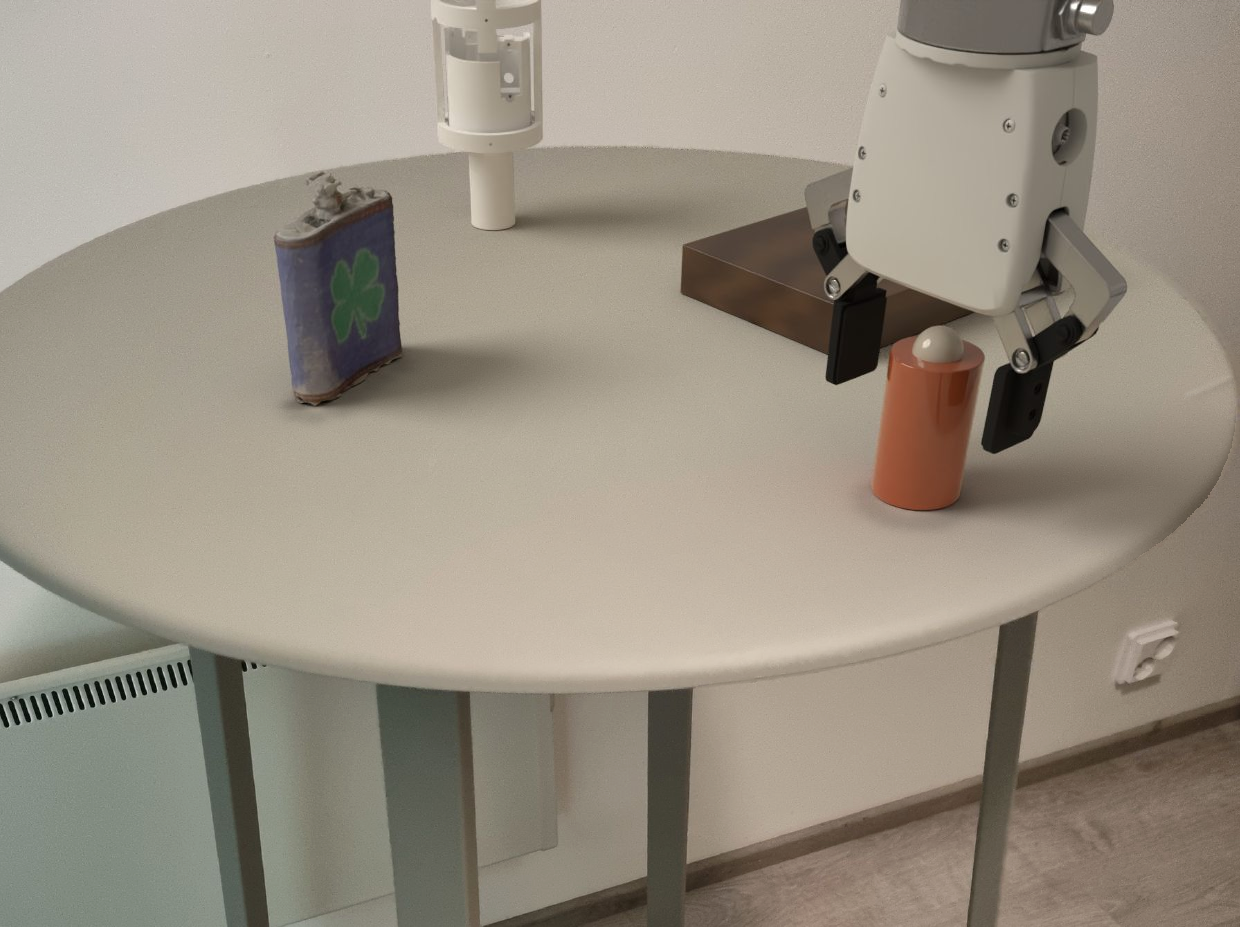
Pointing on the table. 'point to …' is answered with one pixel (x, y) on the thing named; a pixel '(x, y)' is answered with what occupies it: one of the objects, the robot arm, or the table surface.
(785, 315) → the board
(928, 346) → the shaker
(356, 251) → the flask
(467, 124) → the white cylindrical fitting
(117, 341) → the table surface
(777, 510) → the table surface
